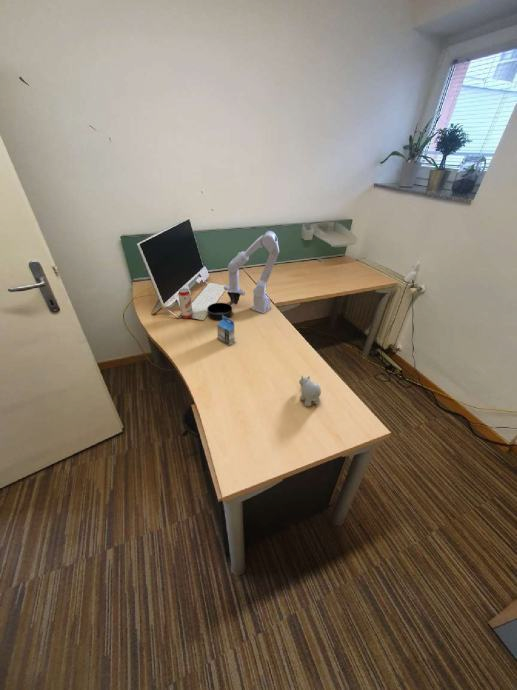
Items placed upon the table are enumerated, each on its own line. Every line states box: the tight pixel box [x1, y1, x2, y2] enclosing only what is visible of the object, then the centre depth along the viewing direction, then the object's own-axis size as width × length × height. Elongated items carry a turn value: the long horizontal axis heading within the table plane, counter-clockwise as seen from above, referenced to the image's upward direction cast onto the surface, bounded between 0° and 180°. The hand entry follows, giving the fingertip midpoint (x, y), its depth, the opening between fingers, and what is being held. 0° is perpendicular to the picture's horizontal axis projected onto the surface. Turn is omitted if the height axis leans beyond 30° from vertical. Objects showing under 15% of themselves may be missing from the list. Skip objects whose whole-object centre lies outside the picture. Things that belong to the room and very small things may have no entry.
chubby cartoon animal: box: [298, 375, 322, 408], centre depth 105 cm, size 7×12×8 cm, turn 16°
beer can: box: [177, 288, 194, 320], centre depth 150 cm, size 6×6×16 cm
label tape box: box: [216, 315, 235, 346], centre depth 133 cm, size 9×4×12 cm, turn 47°
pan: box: [206, 299, 240, 322], centre depth 160 cm, size 14×24×4 cm, turn 145°
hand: (234, 303), depth 166 cm, fingers closed on pan, 2 cm apart
